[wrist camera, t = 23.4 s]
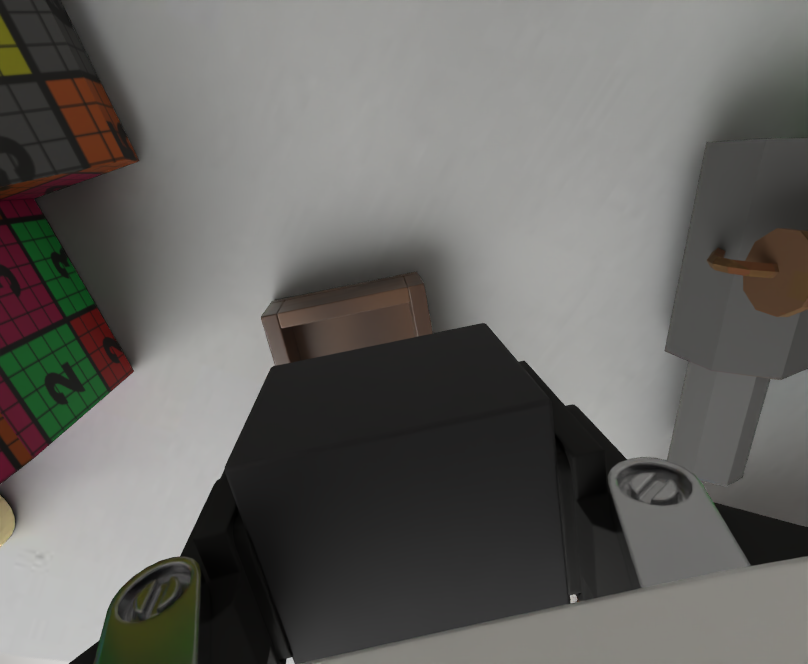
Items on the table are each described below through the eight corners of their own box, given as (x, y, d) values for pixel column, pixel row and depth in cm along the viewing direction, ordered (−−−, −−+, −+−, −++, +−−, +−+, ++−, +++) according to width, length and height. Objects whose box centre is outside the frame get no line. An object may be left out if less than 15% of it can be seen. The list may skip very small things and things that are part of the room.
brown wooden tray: (416, 270, 26) (424, 283, 23) (458, 498, 31) (468, 532, 28) (271, 300, 25) (260, 316, 22) (336, 524, 30) (334, 561, 27)
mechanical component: (595, 441, 30) (704, 565, 20) (643, 144, 24) (823, 124, 15) (743, 436, 31) (913, 552, 21) (822, 148, 25) (1099, 132, 16)
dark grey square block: (485, 321, 11) (554, 399, 7) (509, 499, 12) (575, 641, 9) (270, 365, 11) (221, 469, 7) (322, 539, 12) (306, 701, 8)
